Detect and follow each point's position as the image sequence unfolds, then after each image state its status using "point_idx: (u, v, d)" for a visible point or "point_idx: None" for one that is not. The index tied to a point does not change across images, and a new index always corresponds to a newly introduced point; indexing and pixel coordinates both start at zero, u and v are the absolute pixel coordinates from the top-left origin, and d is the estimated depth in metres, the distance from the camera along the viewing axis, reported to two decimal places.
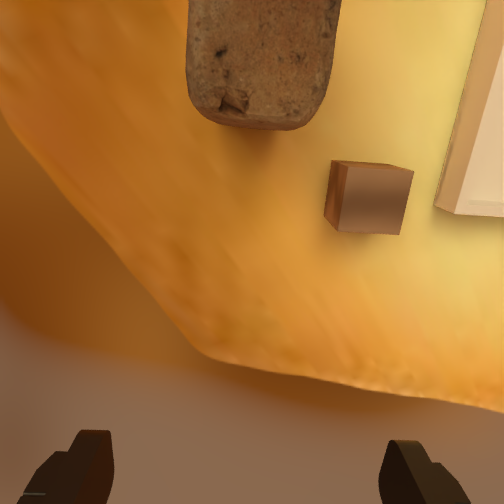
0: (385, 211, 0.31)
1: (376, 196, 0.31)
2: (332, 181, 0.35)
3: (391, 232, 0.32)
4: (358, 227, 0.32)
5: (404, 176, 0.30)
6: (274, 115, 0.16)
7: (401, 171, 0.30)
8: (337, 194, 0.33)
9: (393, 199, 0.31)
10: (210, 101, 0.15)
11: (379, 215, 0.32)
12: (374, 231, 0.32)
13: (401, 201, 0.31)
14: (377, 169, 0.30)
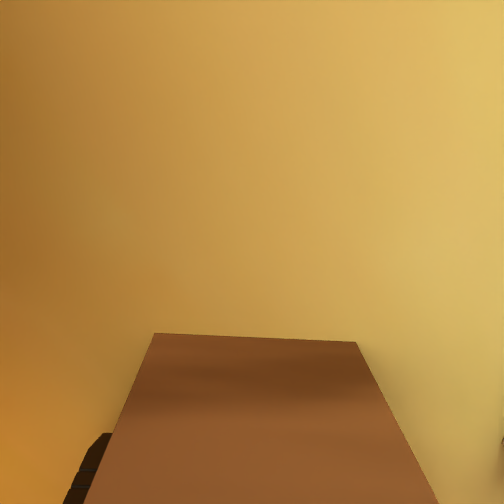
0: None
1: None
2: None
3: None
4: None
5: None
6: None
7: None
8: None
9: None
10: None
11: None
12: None
13: None
14: None
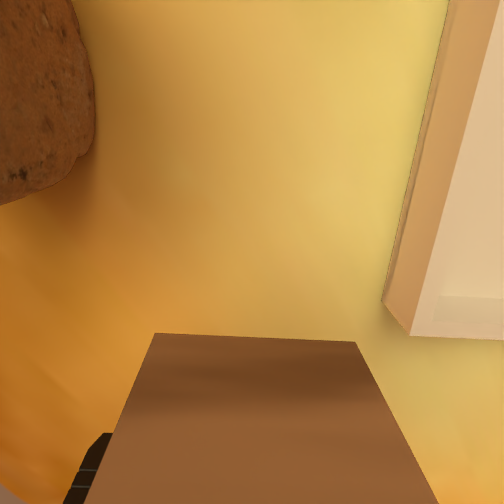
0: None
1: None
2: None
3: None
4: None
5: None
6: None
7: None
8: None
9: None
10: None
11: None
12: None
13: None
14: None
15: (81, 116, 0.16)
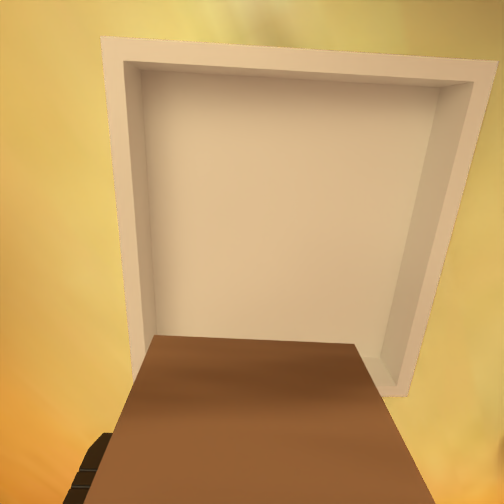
0: None
1: None
2: None
3: None
4: None
5: None
6: None
7: None
8: None
9: None
10: None
11: None
12: None
13: None
14: None
15: None
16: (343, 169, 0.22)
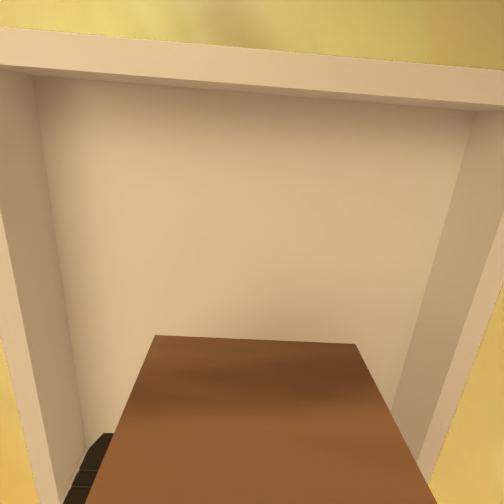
0: None
1: None
2: None
3: None
4: None
5: None
6: None
7: None
8: None
9: None
10: None
11: None
12: None
13: None
14: None
15: None
16: (333, 222, 0.16)
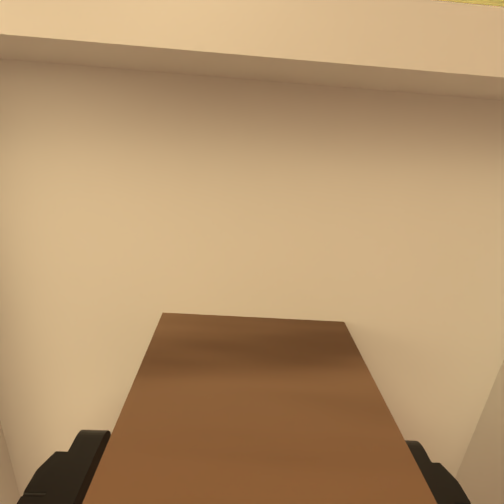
0: None
1: None
2: None
3: None
4: None
5: None
6: None
7: None
8: None
9: None
10: None
11: None
12: None
13: None
14: None
15: None
16: (377, 272, 0.11)
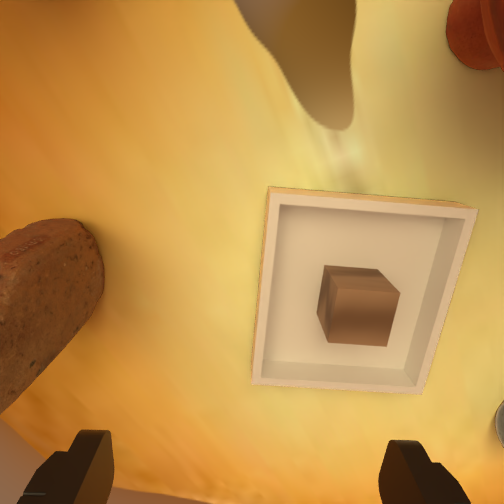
0: (373, 326, 0.33)
1: (365, 313, 0.33)
2: (324, 287, 0.37)
3: (379, 344, 0.34)
4: (348, 339, 0.34)
5: (391, 296, 0.32)
6: None
7: (388, 292, 0.32)
8: (328, 305, 0.34)
9: (381, 316, 0.33)
10: None
11: (367, 330, 0.33)
12: (363, 343, 0.34)
13: (388, 318, 0.33)
14: (365, 290, 0.32)
15: (98, 287, 0.36)
16: (387, 254, 0.37)
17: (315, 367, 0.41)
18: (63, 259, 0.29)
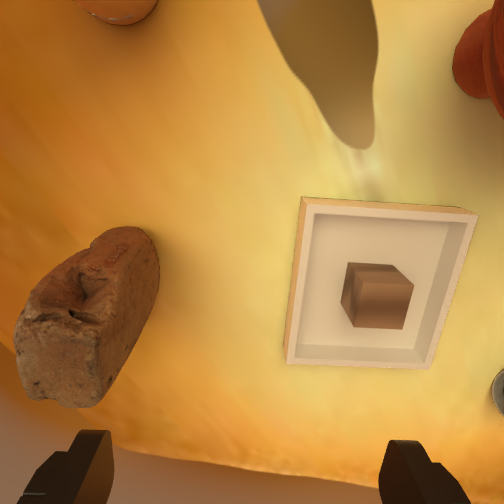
0: (391, 313, 0.40)
1: (385, 303, 0.39)
2: (348, 281, 0.43)
3: (396, 327, 0.41)
4: (370, 324, 0.40)
5: (406, 288, 0.39)
6: (73, 407, 0.27)
7: (404, 285, 0.39)
8: (353, 296, 0.41)
9: (398, 304, 0.40)
10: (37, 399, 0.27)
11: (386, 316, 0.40)
12: (382, 327, 0.41)
13: (404, 306, 0.40)
14: (385, 283, 0.39)
15: (157, 284, 0.43)
16: (401, 252, 0.44)
17: (338, 348, 0.48)
18: (141, 263, 0.35)
